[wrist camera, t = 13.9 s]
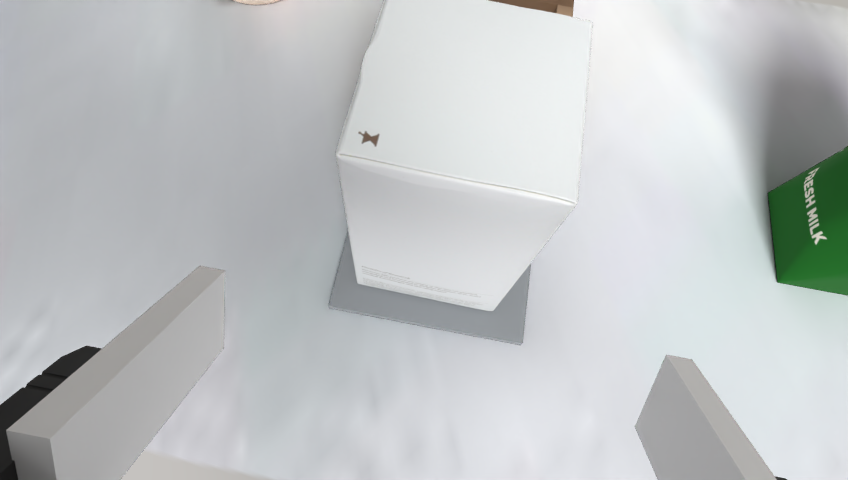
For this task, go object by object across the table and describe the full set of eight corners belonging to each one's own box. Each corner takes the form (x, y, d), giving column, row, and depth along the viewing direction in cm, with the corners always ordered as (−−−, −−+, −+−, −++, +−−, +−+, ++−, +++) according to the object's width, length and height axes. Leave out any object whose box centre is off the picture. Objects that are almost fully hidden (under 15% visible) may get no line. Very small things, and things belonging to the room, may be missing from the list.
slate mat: (371, 146, 35) (371, 141, 35) (537, 178, 35) (539, 174, 35) (329, 308, 31) (328, 305, 30) (520, 345, 31) (522, 343, 30)
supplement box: (496, 316, 31) (584, 212, 17) (354, 285, 31) (325, 157, 17) (515, 189, 34) (601, 16, 20) (387, 162, 34) (386, -28, 20)
